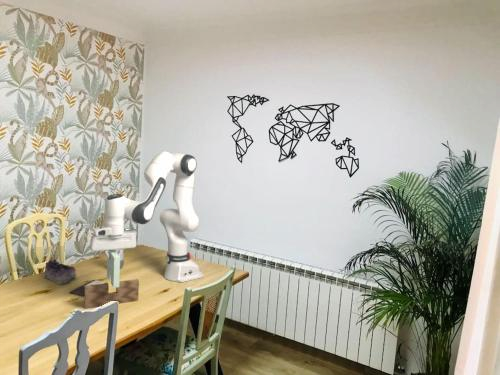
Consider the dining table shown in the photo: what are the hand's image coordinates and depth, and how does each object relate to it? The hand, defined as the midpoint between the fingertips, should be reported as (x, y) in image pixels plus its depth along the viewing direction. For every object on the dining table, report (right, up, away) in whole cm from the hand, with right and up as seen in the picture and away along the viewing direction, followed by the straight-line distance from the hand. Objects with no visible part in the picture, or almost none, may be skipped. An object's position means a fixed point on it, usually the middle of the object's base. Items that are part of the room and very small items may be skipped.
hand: (113, 258), depth 176 cm
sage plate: (-1, -11, +1) cm, 11 cm away
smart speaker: (-16, -15, +48) cm, 53 cm away
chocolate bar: (-19, -19, +18) cm, 33 cm away
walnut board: (-2, -22, +3) cm, 22 cm away
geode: (-40, -17, +27) cm, 51 cm away
